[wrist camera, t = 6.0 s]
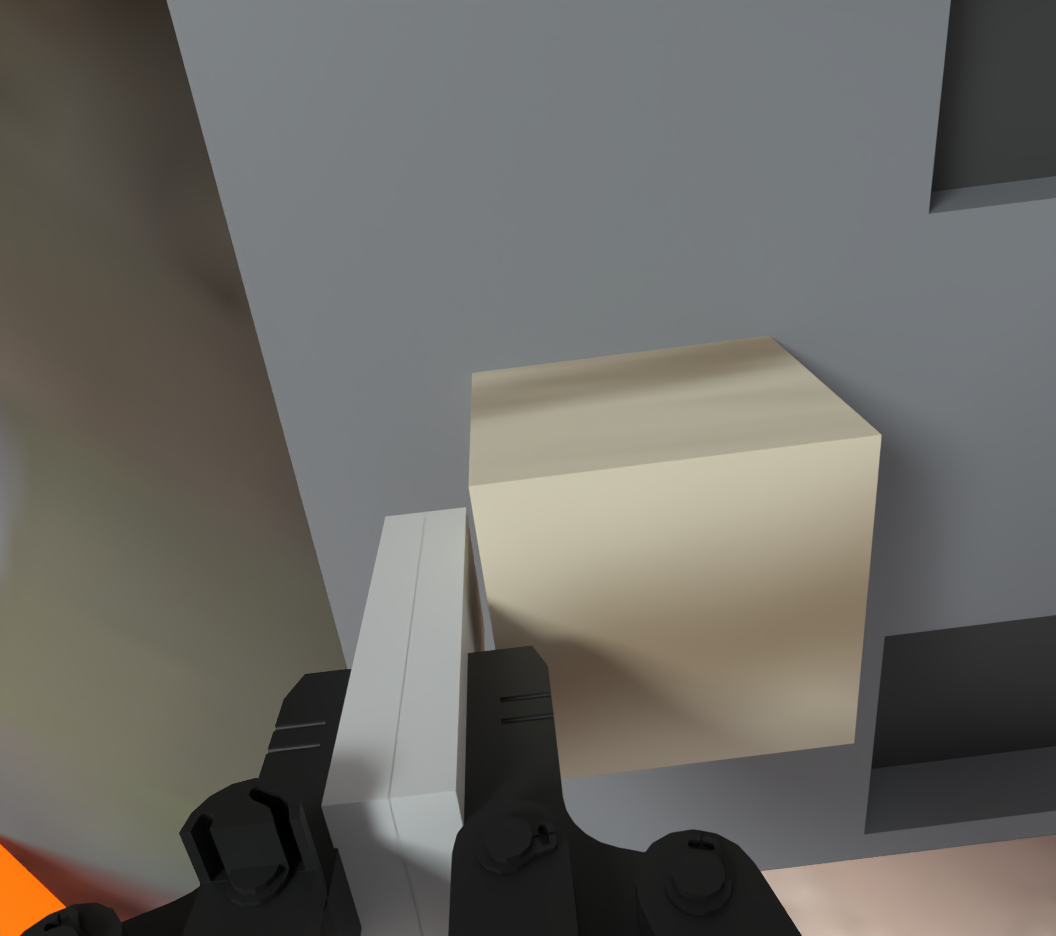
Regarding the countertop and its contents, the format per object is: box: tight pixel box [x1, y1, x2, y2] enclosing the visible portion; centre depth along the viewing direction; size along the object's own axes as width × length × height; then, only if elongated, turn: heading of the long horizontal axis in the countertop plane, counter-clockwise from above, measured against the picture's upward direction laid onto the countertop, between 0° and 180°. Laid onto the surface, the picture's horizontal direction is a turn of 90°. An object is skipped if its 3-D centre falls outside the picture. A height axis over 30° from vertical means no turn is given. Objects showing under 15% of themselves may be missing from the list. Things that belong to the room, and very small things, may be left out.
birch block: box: [469, 336, 882, 780], centre depth 15 cm, size 6×6×5 cm
